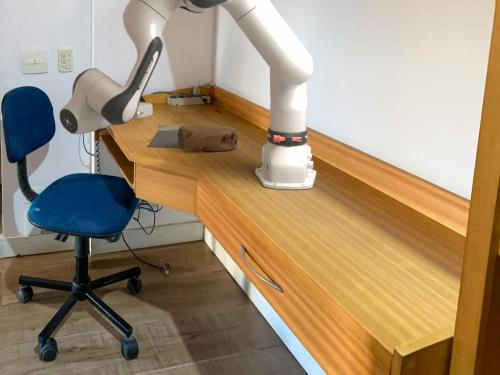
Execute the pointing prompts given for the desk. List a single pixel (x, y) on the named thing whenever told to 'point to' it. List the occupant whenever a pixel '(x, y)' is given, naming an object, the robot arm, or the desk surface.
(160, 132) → the mat
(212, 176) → the desk surface
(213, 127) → the block
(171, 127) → the stop strip
